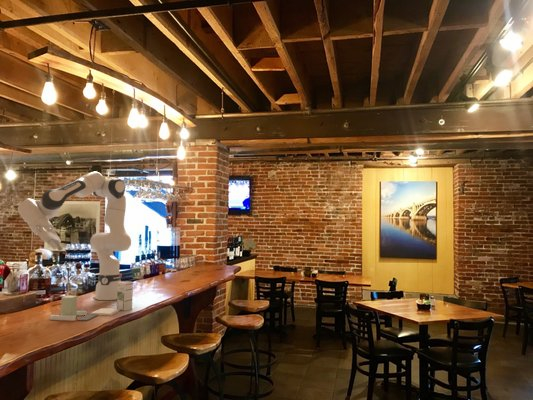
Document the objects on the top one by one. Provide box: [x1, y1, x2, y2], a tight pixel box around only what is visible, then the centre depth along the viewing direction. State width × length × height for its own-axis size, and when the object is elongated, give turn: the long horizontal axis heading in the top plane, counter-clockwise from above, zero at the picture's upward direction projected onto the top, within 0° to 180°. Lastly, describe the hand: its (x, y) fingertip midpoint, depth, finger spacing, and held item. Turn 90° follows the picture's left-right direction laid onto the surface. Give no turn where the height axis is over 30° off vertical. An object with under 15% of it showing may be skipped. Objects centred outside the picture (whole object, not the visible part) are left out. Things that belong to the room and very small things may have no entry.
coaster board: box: [90, 307, 120, 317], centre depth 200 cm, size 10×10×1 cm
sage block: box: [60, 295, 78, 317], centre depth 190 cm, size 5×5×10 cm
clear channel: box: [49, 310, 99, 322], centre depth 190 cm, size 11×18×2 cm, turn 87°
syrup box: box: [116, 280, 134, 312], centre depth 209 cm, size 6×6×14 cm
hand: (58, 249), depth 197 cm, fingers open, 8 cm apart
